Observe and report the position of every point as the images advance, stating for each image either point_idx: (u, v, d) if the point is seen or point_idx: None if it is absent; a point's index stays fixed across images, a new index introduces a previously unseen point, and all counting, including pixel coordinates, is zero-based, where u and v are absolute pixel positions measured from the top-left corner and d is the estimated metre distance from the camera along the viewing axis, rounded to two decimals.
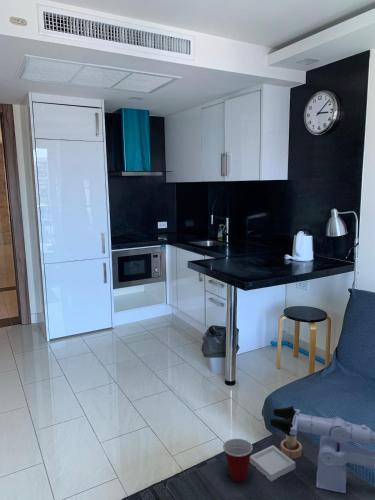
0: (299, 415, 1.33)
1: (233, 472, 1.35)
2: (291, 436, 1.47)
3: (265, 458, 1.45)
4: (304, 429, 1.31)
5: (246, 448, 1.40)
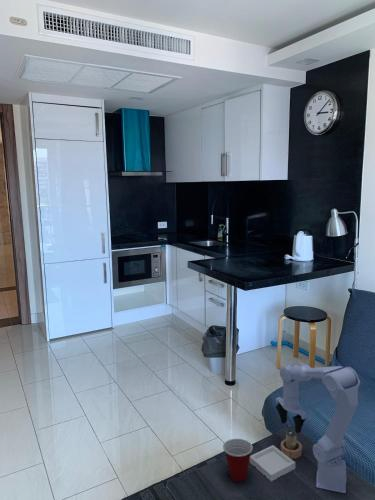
0: None
1: (233, 472, 1.35)
2: (291, 436, 1.47)
3: (265, 458, 1.45)
4: None
5: (246, 448, 1.40)
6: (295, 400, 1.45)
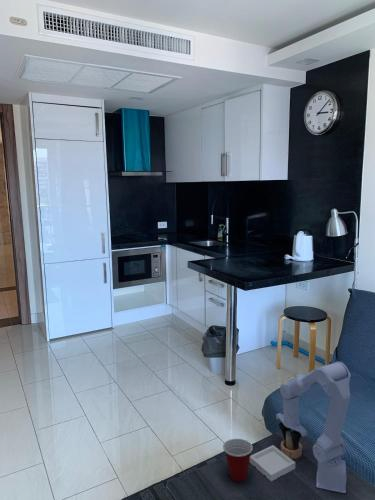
0: None
1: (233, 472, 1.35)
2: None
3: (265, 458, 1.45)
4: None
5: (246, 448, 1.40)
6: (295, 417, 1.46)
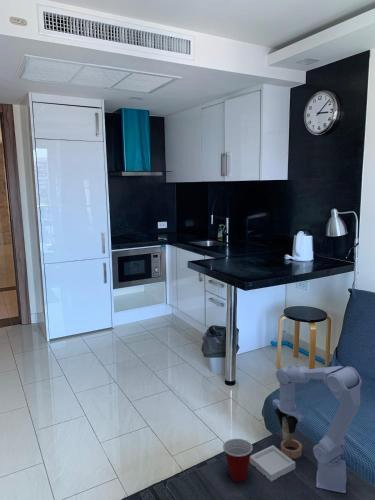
0: None
1: (233, 472, 1.35)
2: (287, 422, 1.45)
3: (265, 458, 1.45)
4: None
5: (246, 448, 1.40)
6: (291, 402, 1.43)
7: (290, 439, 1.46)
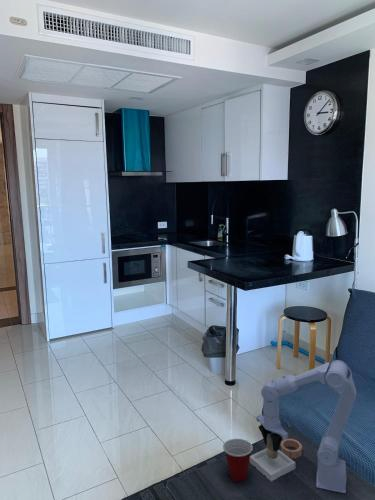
0: None
1: (233, 472, 1.35)
2: None
3: (265, 458, 1.45)
4: None
5: (246, 448, 1.40)
6: (276, 419, 1.38)
7: (275, 456, 1.41)
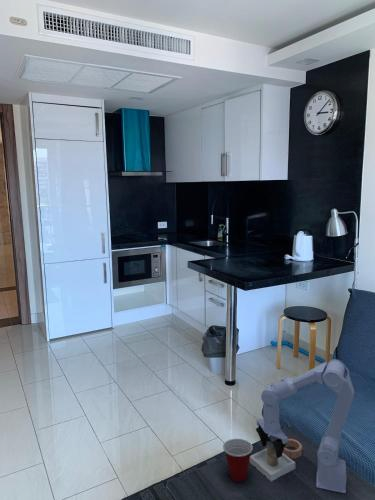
0: None
1: (233, 472, 1.35)
2: (272, 447, 1.40)
3: (265, 458, 1.45)
4: None
5: (246, 448, 1.40)
6: (276, 423, 1.38)
7: (275, 464, 1.41)
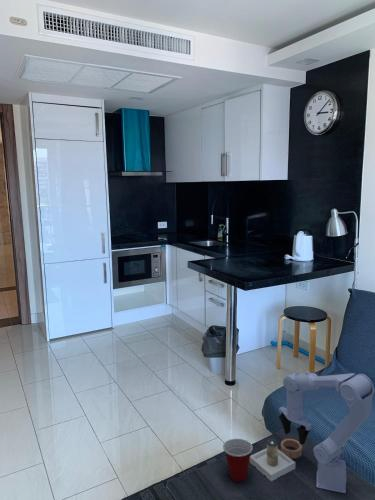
0: None
1: (233, 472, 1.35)
2: (272, 447, 1.40)
3: (265, 458, 1.45)
4: None
5: (246, 448, 1.40)
6: (299, 410, 1.39)
7: (275, 464, 1.41)
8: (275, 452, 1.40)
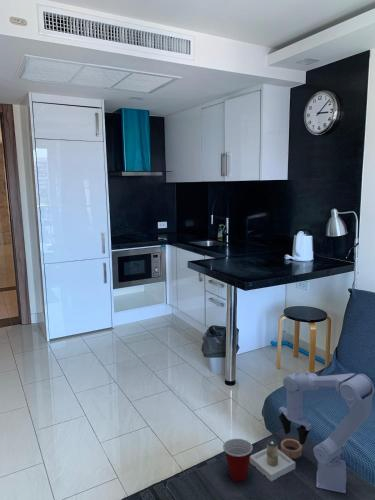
0: None
1: (233, 472, 1.35)
2: (272, 447, 1.40)
3: (265, 458, 1.45)
4: None
5: (246, 448, 1.40)
6: (299, 410, 1.39)
7: (275, 464, 1.41)
8: (275, 452, 1.40)
